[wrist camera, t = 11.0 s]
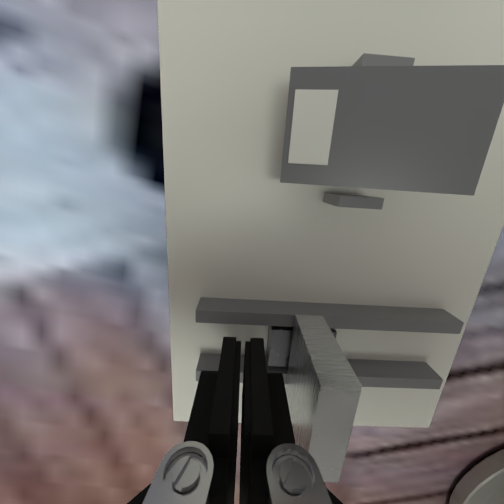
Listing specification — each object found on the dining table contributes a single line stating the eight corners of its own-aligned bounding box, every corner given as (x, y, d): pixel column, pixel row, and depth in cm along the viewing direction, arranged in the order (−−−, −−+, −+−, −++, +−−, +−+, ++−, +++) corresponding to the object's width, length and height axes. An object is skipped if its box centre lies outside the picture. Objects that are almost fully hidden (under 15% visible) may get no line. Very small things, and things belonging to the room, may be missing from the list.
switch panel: (644, -343, 8) (1011, -824, 4) (407, 398, 16) (453, 461, 13) (163, -423, 7) (74, -1077, 3) (182, 391, 16) (163, 455, 12)
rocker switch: (465, 92, 8) (520, 62, 6) (438, 192, 9) (476, 195, 7) (292, 90, 9) (290, 65, 7) (283, 182, 10) (279, 182, 8)
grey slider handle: (332, 302, 12) (393, 387, 7) (321, 369, 13) (365, 483, 8) (271, 299, 12) (289, 383, 7) (264, 367, 13) (276, 481, 8)
